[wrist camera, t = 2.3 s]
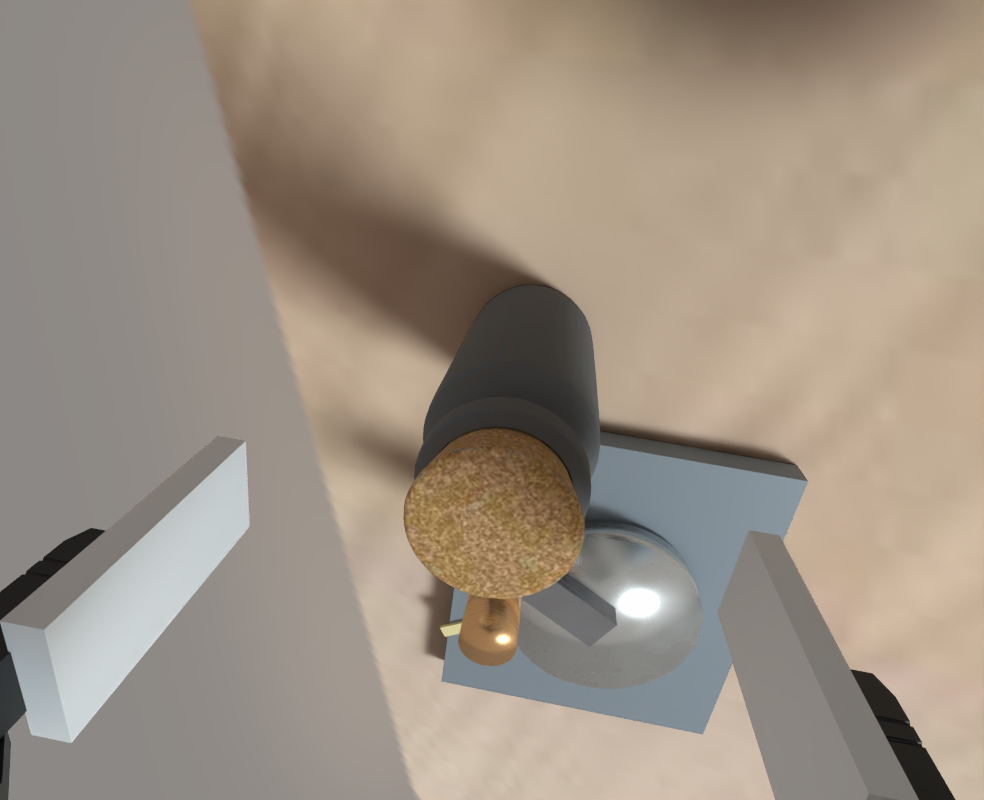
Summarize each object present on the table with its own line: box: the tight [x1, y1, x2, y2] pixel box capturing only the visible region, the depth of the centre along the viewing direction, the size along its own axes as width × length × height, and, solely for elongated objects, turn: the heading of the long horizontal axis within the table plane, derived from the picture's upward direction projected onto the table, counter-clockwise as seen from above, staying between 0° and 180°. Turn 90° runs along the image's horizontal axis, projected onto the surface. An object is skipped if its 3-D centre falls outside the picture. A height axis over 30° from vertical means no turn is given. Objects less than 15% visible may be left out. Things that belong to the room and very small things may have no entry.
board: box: [440, 431, 808, 734], centre depth 33 cm, size 18×16×2 cm
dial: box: [458, 521, 703, 689], centre depth 29 cm, size 10×12×8 cm
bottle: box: [404, 285, 600, 599], centre depth 22 cm, size 6×6×15 cm
